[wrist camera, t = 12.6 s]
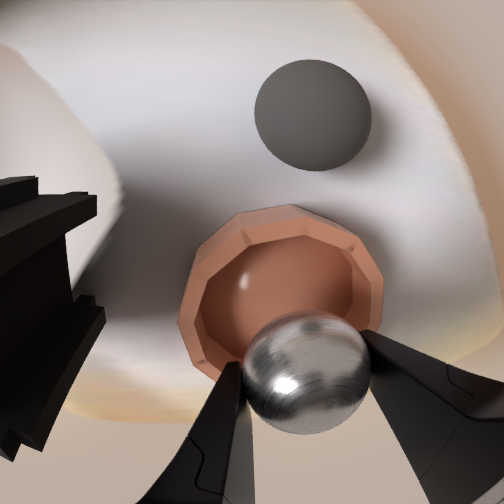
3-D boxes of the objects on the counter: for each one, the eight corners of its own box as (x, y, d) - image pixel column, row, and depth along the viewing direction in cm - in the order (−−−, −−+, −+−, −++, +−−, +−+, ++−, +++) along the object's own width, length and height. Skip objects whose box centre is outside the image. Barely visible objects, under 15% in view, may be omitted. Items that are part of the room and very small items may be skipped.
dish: (166, 228, 12) (153, 246, 9) (354, 193, 12) (383, 203, 10) (211, 374, 14) (211, 409, 12) (357, 342, 15) (375, 370, 12)
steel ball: (226, 300, 9) (232, 390, 5) (343, 275, 9) (405, 343, 6) (248, 383, 11) (260, 467, 7) (343, 361, 11) (382, 433, 7)
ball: (241, 81, 10) (251, 45, 6) (334, 74, 10) (380, 47, 6) (257, 175, 11) (277, 185, 7) (348, 162, 11) (401, 169, 8)
